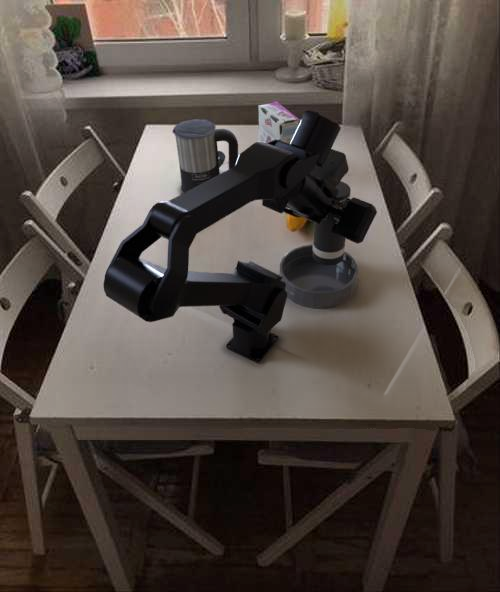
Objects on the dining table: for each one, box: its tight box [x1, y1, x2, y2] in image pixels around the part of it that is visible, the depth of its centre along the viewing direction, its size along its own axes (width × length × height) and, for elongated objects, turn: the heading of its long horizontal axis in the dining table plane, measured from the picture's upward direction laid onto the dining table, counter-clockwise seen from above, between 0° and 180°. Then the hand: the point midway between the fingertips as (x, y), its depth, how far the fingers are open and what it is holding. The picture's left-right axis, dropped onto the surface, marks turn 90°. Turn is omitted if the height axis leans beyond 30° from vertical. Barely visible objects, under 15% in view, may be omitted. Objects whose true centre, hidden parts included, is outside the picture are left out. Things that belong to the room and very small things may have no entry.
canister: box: [312, 180, 351, 265], centre depth 98 cm, size 6×6×14 cm
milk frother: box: [172, 118, 239, 194], centre depth 129 cm, size 14×16×15 cm
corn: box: [285, 213, 314, 233], centre depth 119 cm, size 7×8×20 cm
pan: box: [279, 243, 359, 309], centre depth 103 cm, size 14×14×4 cm
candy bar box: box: [257, 101, 301, 144], centre depth 128 cm, size 11×5×16 cm, turn 25°
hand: (335, 219), depth 99 cm, fingers closed on canister, 5 cm apart
